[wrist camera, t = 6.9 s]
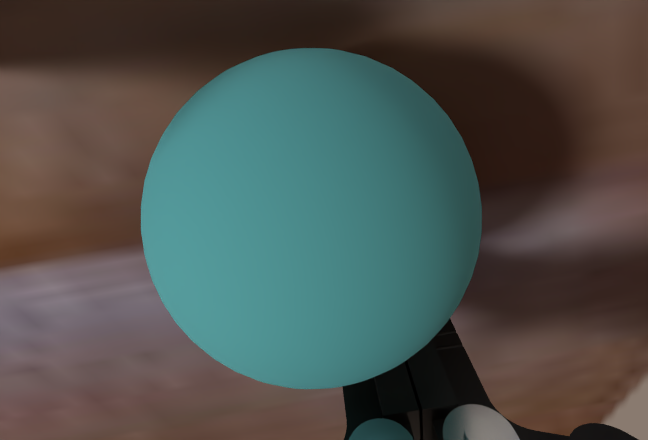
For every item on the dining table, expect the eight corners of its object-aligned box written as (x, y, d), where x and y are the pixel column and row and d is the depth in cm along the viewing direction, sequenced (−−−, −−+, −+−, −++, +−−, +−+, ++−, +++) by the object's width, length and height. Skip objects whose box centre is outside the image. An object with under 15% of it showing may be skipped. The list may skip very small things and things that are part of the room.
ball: (491, 305, 9) (440, 63, 9) (571, 484, 4) (442, -134, 4) (271, 332, 11) (227, 130, 11) (96, 483, 5) (1, 67, 5)
